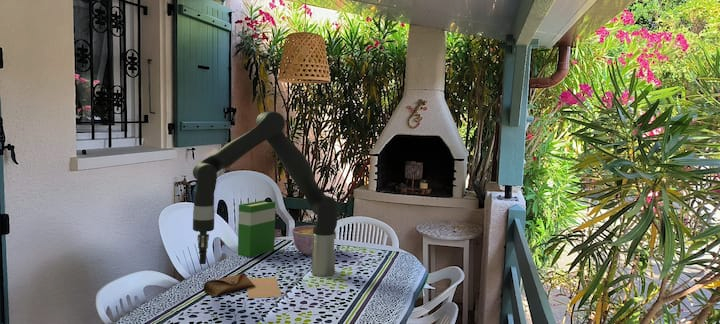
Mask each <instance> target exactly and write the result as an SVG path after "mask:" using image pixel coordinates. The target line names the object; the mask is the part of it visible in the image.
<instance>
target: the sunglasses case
mask: <svg viewBox="0 0 720 324" xmlns="http://www.w3.org/2000/svg"><path fill="white" fill-rule="evenodd" d="M249 279H250V278H249V277H248V276H247V275H246V273H245V272H244V273H243V272H242V273H240V274H235V275H232V276H227V277H222V278H219V279H212V280H211V279H210V280H208V281H205V283H204V284H203V292H204V293H206V294H208V295H209V296H212V297H218V296H221V295H226V294H229V293H233V292H237V291H242V290H247V288H250V287H252V286H255V285H254V284H253V283H252V282H251V281H250V280H249Z"/></svg>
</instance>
